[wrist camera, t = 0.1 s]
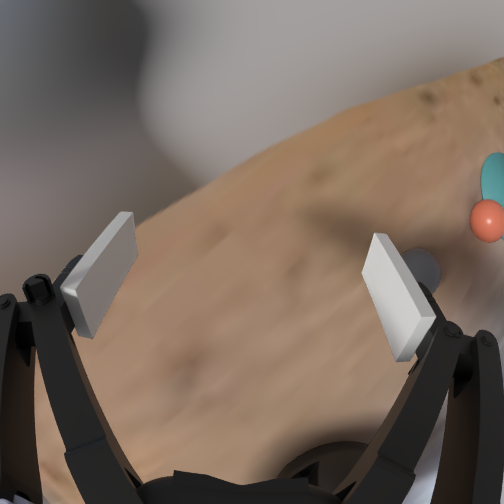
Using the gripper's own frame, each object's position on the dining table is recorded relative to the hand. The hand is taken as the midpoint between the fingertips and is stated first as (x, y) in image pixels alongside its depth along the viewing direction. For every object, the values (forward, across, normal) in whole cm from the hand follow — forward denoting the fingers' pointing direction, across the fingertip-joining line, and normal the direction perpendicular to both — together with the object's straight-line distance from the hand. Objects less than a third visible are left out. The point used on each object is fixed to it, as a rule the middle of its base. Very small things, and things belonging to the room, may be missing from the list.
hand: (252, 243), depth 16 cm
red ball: (+14, -30, +2) cm, 33 cm away
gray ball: (+10, -18, +8) cm, 22 cm away
